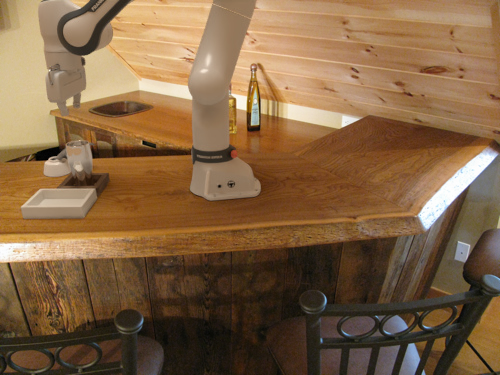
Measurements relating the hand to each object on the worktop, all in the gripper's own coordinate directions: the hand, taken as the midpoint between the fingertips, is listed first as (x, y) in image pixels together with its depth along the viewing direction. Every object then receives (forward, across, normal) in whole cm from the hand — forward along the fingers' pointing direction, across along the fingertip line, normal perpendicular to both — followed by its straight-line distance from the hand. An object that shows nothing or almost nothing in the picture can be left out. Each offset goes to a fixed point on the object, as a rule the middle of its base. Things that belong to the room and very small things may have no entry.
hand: (71, 111), depth 117 cm
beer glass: (+25, 0, 0) cm, 25 cm away
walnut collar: (+25, 0, 0) cm, 25 cm away
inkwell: (+25, +16, +10) cm, 31 cm away
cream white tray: (+25, -14, +2) cm, 28 cm away
